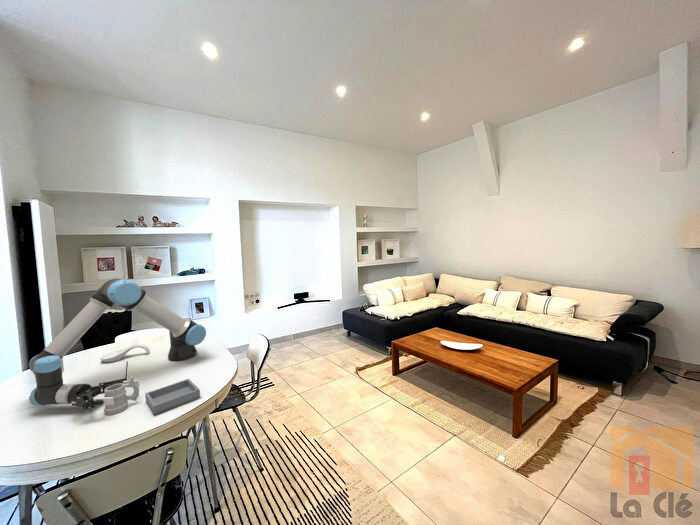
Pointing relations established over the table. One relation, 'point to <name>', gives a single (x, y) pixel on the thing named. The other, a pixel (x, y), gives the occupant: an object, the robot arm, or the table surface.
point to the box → (172, 396)
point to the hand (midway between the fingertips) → (126, 391)
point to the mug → (120, 396)
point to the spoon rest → (121, 353)
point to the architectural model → (62, 365)
